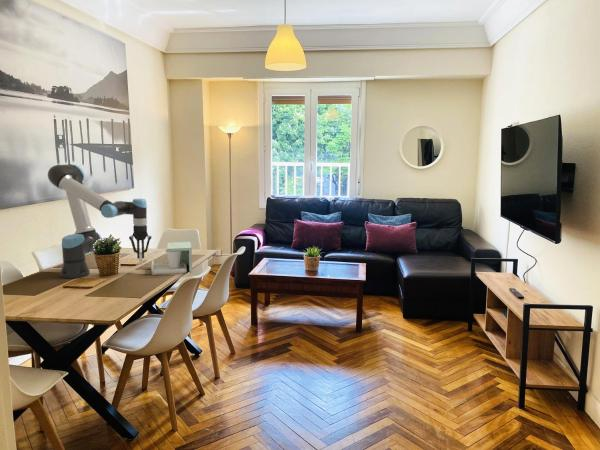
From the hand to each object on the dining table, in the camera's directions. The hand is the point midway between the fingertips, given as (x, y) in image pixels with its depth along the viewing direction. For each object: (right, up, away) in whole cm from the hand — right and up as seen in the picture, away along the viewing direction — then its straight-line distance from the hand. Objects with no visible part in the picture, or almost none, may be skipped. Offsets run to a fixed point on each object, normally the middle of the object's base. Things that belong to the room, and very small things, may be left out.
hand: (140, 263), depth 265 cm
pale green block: (+21, -4, +8) cm, 23 cm away
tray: (+16, -5, +5) cm, 17 cm away
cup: (+18, -3, +9) cm, 20 cm away
